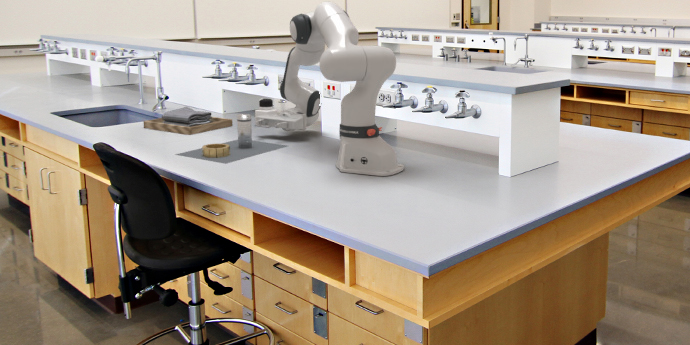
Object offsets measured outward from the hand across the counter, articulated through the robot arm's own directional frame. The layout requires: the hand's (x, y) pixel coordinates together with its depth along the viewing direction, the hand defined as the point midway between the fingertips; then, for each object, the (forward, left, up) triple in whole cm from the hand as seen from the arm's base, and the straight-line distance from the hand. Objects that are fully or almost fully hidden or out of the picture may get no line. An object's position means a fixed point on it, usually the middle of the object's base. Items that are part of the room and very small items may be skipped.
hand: (267, 124), depth 237 cm
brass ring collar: (0, +28, -7) cm, 28 cm away
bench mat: (0, +19, -7) cm, 20 cm away
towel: (+52, -8, -8) cm, 53 cm away
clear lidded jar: (0, +13, -7) cm, 14 cm away
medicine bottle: (+25, -29, -7) cm, 39 cm away
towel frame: (+51, -7, -7) cm, 52 cm away
